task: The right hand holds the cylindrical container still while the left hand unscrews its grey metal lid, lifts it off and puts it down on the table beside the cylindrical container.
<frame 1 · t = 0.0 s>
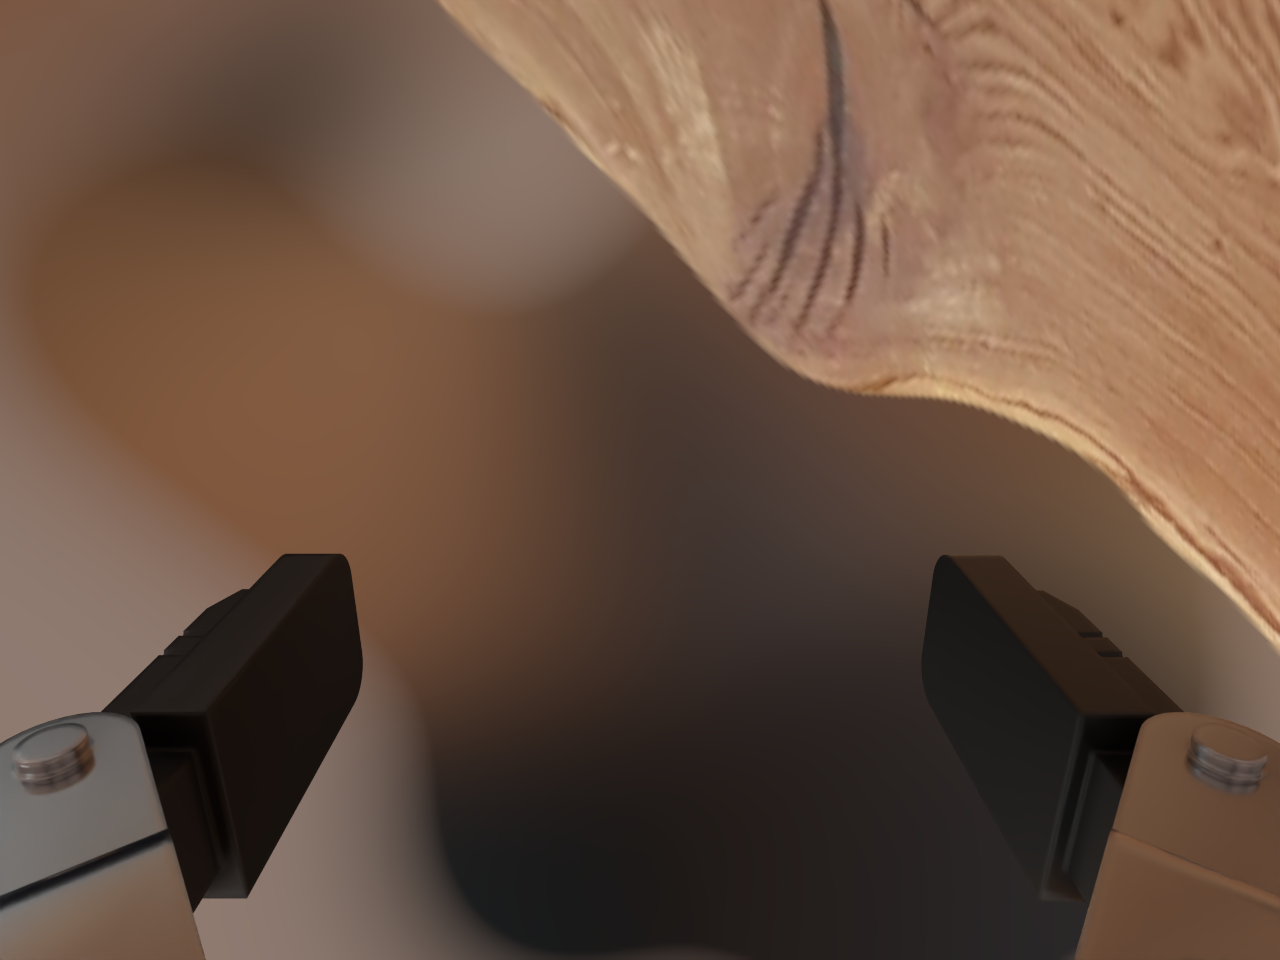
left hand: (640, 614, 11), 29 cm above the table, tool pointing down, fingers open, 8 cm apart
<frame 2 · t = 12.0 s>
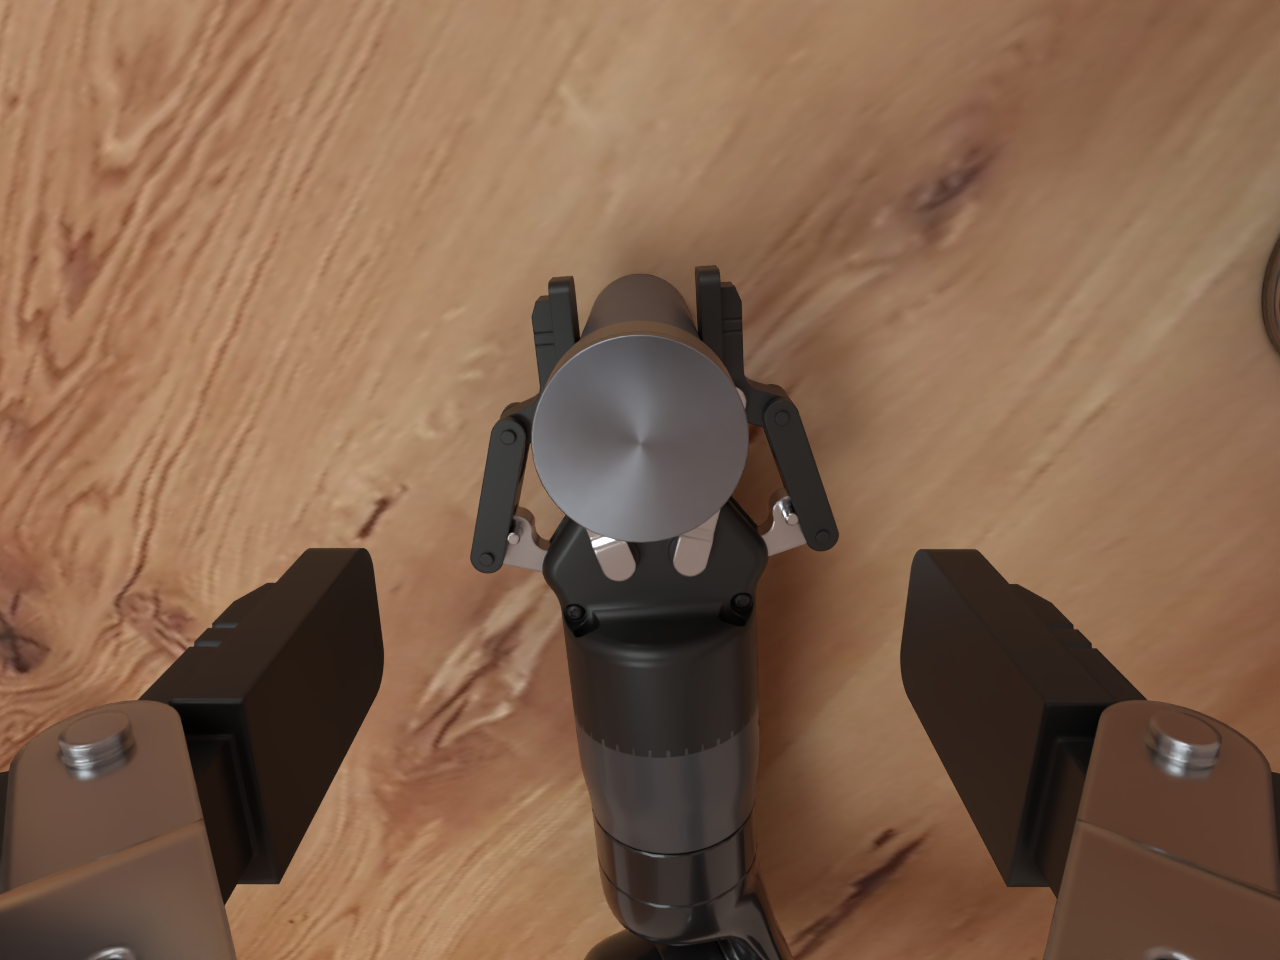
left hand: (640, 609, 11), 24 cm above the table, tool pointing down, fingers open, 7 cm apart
right hand: (633, 276, 27), fingers closed on cylindrical container, 4 cm apart
cylindrical container: (640, 325, 34), on the table, touching right hand
lid: (640, 439, 19), point 16 cm above the table, screwed on, not yet turned
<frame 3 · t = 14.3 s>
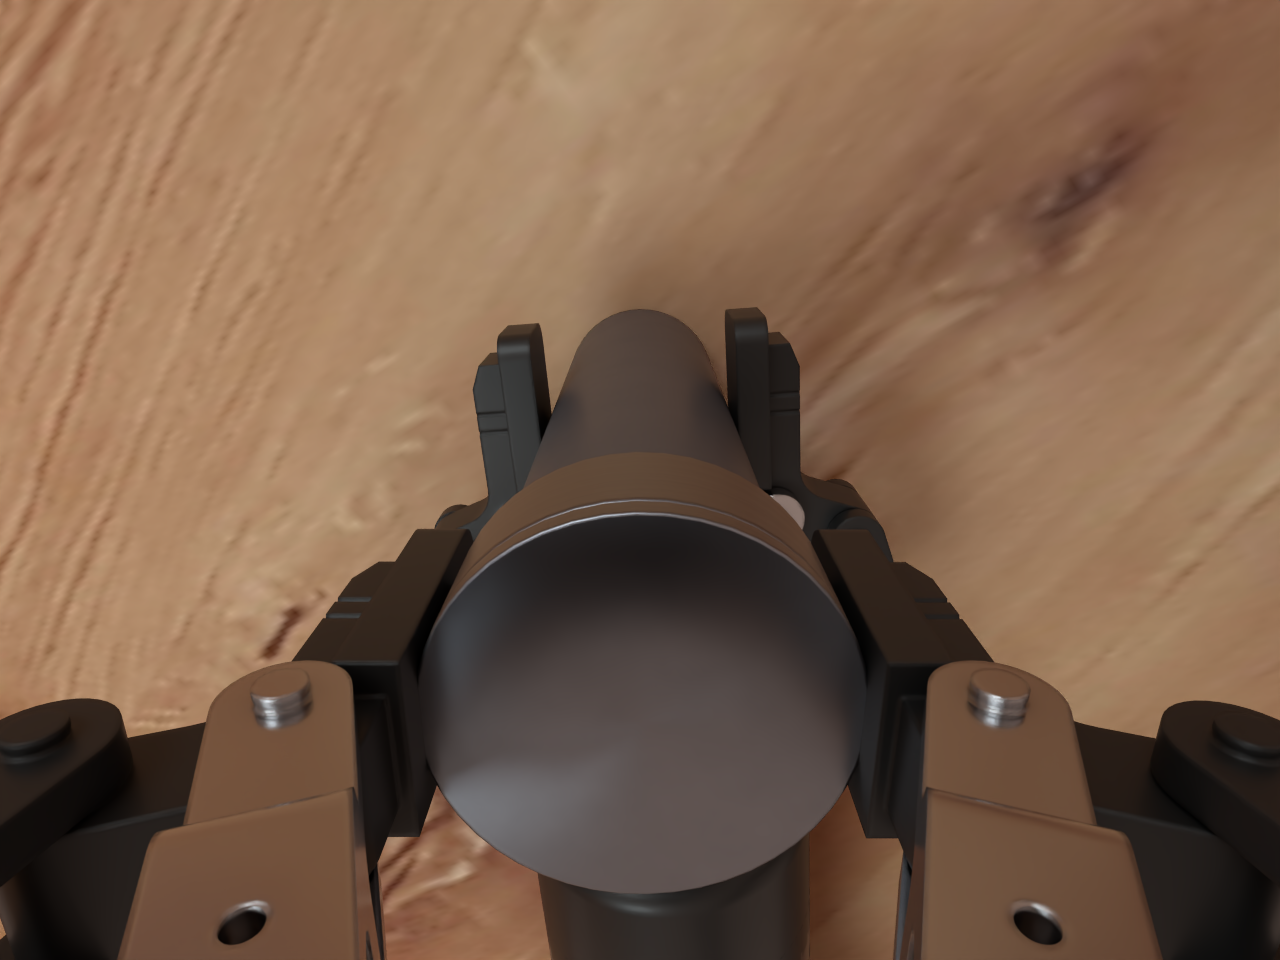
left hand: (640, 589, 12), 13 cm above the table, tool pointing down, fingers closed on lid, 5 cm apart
cylindrical container: (641, 380, 24), on the table, touching right hand
lid: (642, 703, 9), point 16 cm above the table, screwed on, not yet turned, touching left hand
when the left hand's fingers open (14 cm above the table, at t = 15.6 s): lid stays where it is, point 16 cm above the table.
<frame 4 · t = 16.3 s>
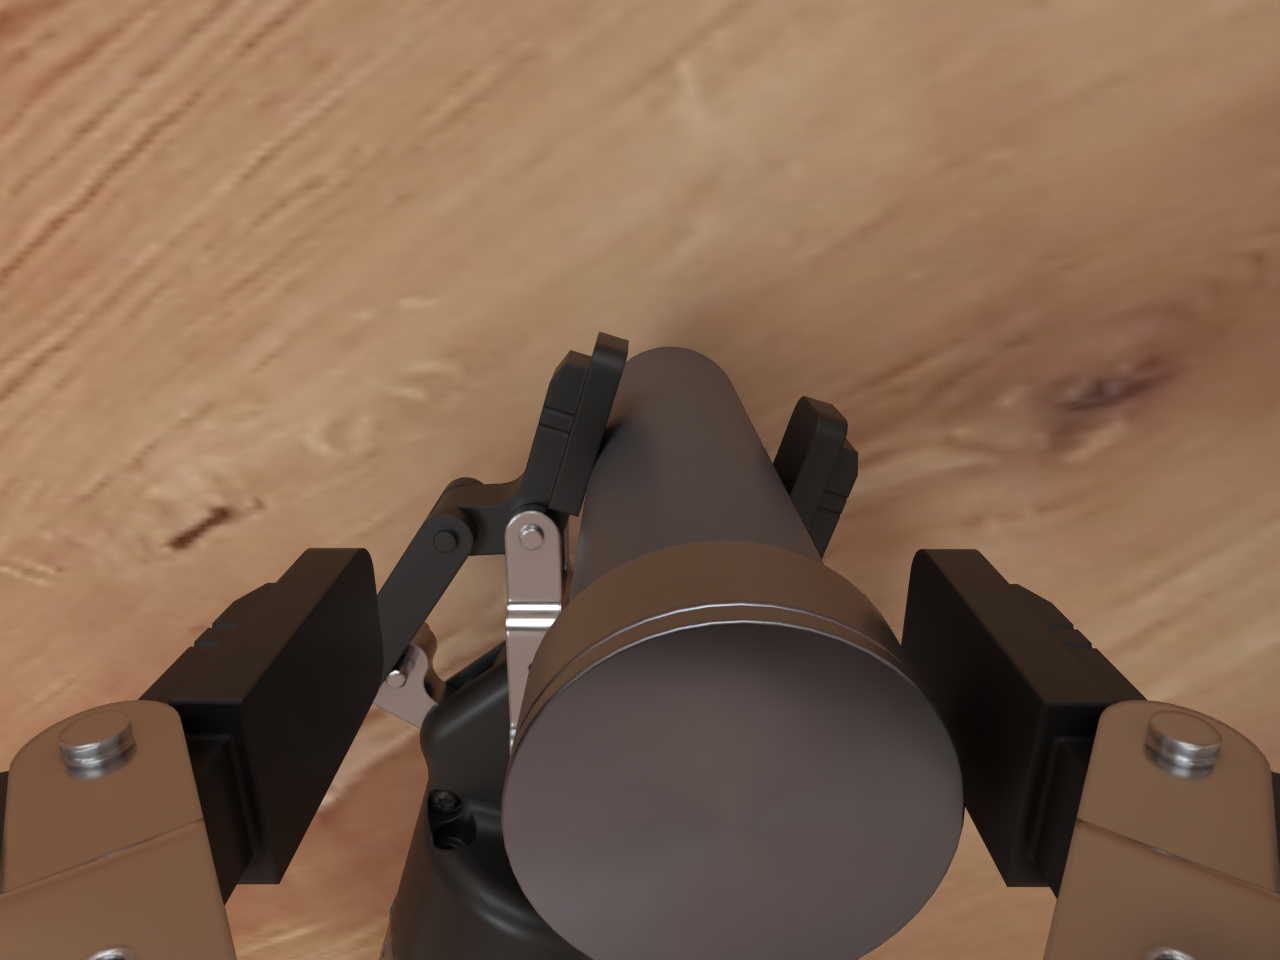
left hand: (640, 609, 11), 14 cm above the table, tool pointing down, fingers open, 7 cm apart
cylindrical container: (669, 416, 25), on the table, touching right hand
lid: (729, 802, 9), point 16 cm above the table, turned 72° so far, risen 0.3 cm, still on its thread
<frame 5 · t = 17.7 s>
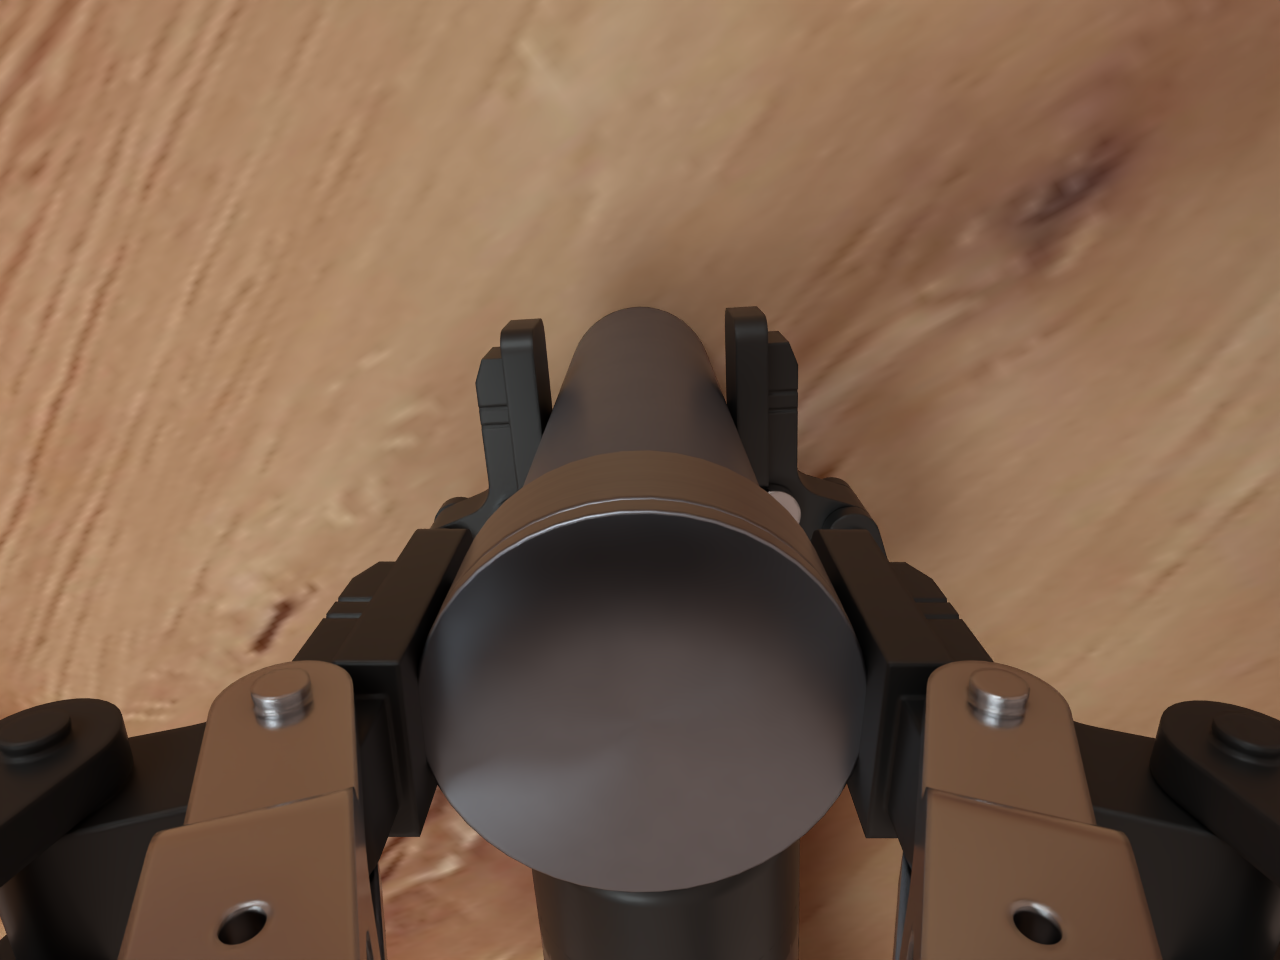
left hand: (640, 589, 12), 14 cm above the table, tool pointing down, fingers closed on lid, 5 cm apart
cylindrical container: (640, 377, 25), on the table, touching right hand
lid: (642, 701, 9), point 16 cm above the table, turned 72° so far, risen 0.2 cm, still on its thread, touching left hand
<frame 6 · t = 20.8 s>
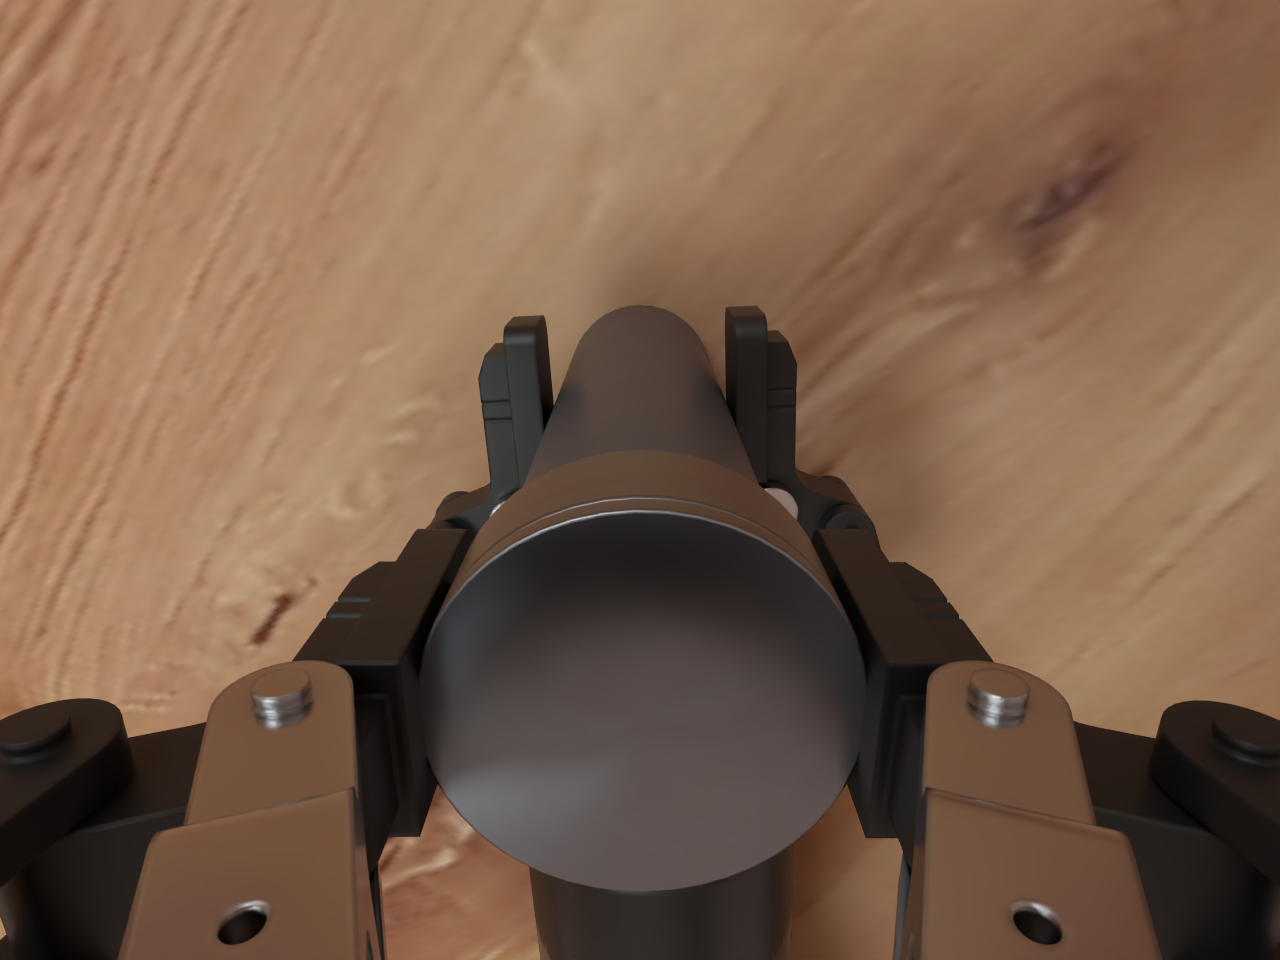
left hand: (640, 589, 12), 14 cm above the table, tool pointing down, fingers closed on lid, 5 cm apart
cylindrical container: (640, 375, 25), on the table, touching right hand
lid: (642, 701, 9), point 17 cm above the table, turned 144° so far, risen 0.5 cm, still on its thread, touching left hand
when the left hand's fingers open (0 cm above the table, at t = 27.0 s): lid drops 1 cm, point 2 cm above the table.
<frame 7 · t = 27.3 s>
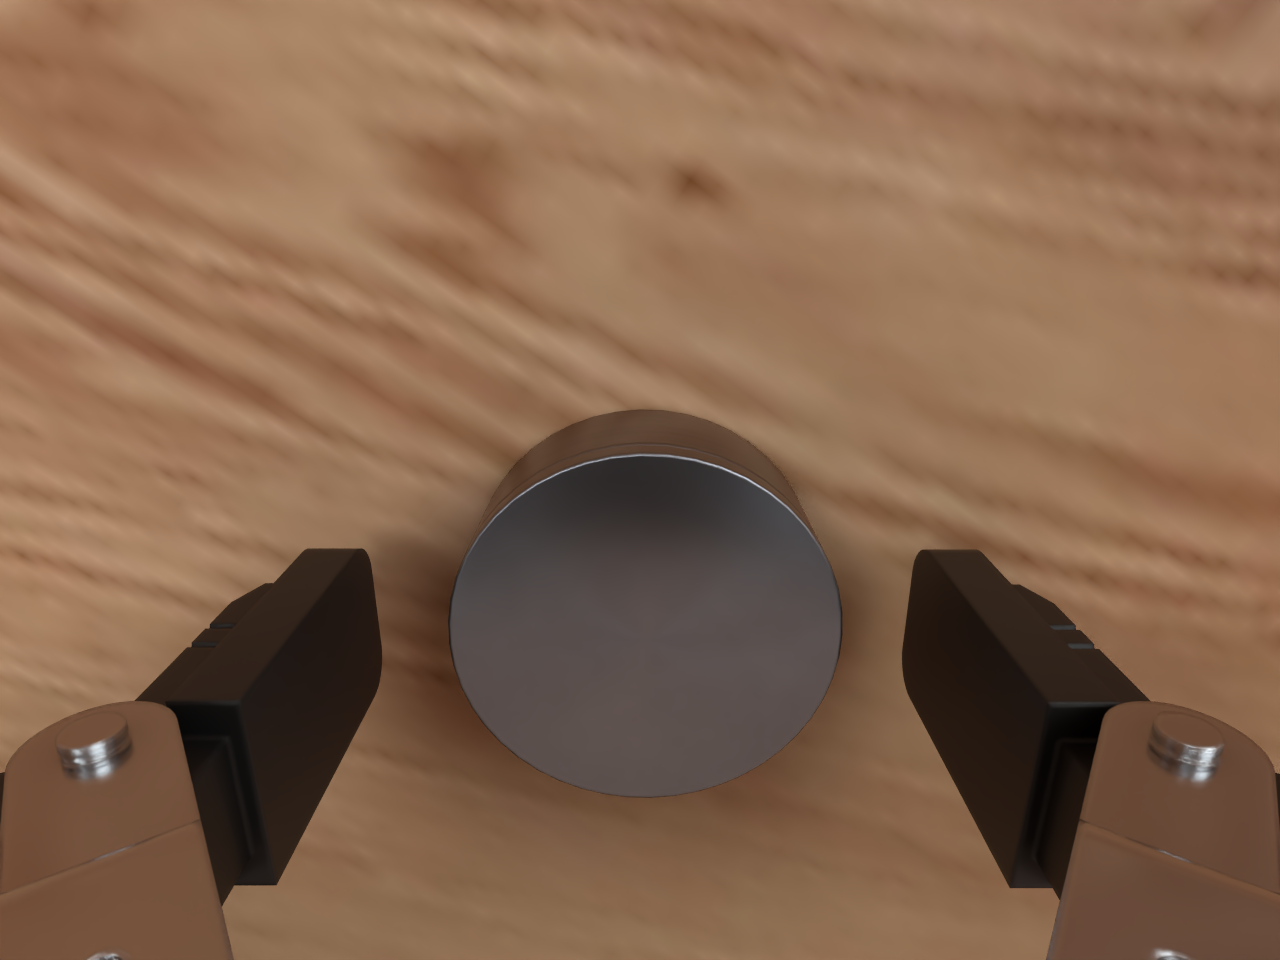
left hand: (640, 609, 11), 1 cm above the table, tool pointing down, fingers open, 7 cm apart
lid: (645, 626, 11), point 2 cm above the table, off its thread
when the right hand's fingers open (6 cm above the table, at t = 28.0 s): cylindrical container stays where it is, on the table.
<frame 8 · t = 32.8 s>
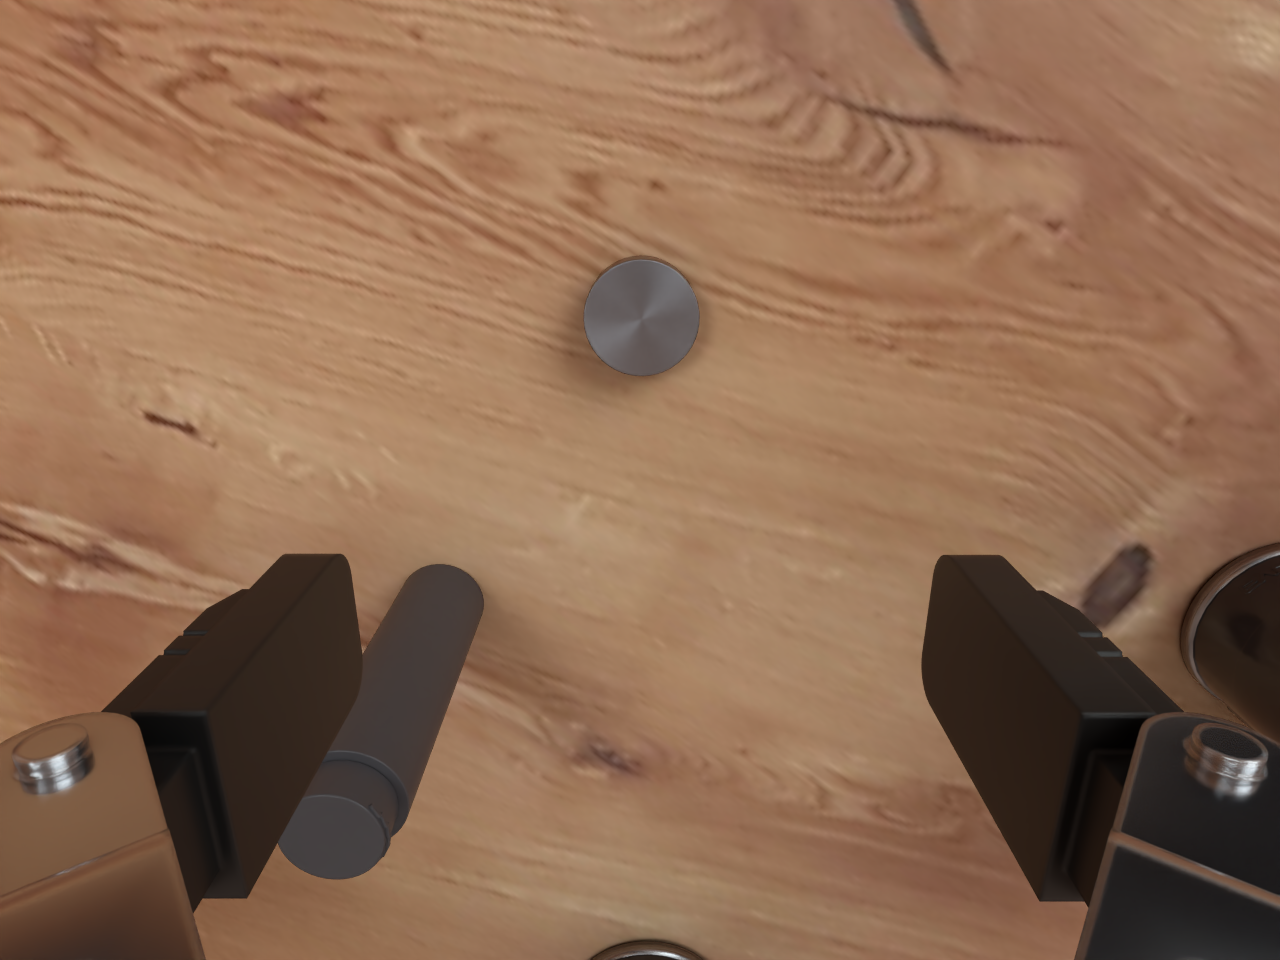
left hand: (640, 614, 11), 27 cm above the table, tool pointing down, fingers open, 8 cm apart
cylindrical container: (442, 601, 42), on the table
lid: (641, 318, 35), point 2 cm above the table, off its thread
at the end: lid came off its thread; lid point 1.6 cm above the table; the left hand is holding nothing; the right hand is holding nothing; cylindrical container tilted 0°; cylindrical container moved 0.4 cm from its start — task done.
